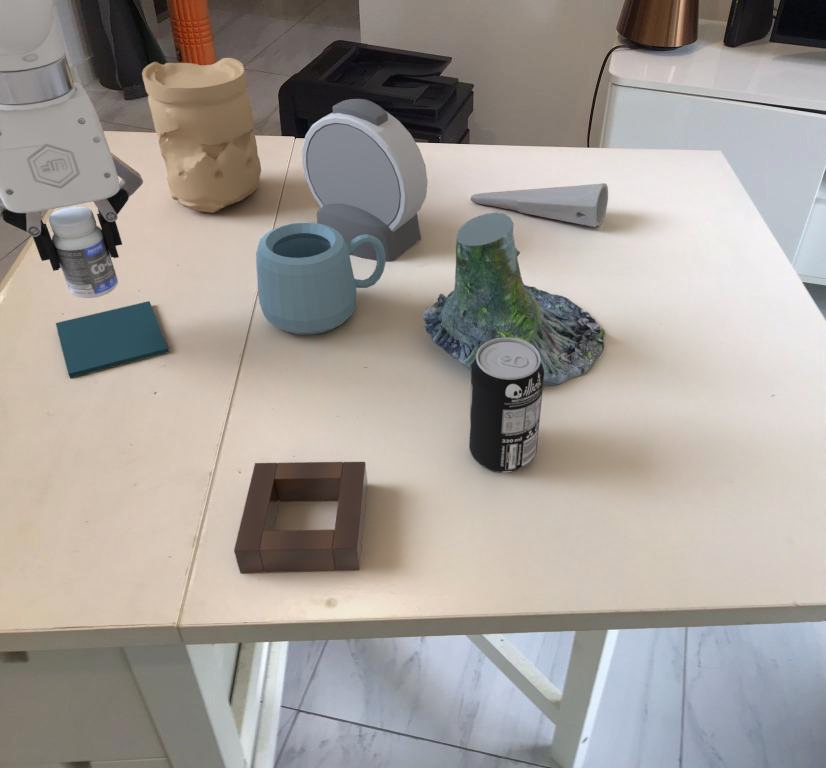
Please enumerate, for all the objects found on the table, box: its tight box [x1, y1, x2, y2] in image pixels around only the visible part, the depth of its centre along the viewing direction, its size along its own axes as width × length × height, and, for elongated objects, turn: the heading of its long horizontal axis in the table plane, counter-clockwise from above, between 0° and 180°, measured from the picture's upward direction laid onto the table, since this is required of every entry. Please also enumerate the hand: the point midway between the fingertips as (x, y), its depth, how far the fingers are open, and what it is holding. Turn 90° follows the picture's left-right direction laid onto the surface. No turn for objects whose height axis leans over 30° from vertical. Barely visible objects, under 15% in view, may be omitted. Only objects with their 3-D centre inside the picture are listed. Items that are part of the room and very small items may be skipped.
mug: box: [255, 222, 386, 336], centre depth 92 cm, size 15×11×10 cm
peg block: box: [233, 461, 368, 574], centre depth 70 cm, size 10×10×3 cm
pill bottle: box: [48, 206, 119, 299], centre depth 82 cm, size 5×5×8 cm
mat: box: [55, 300, 170, 379], centre depth 89 cm, size 10×10×1 cm
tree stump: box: [422, 212, 606, 387], centre depth 88 cm, size 18×20×18 cm
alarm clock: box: [301, 98, 429, 262], centre depth 103 cm, size 16×10×18 cm, turn 62°
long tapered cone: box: [470, 183, 609, 228], centre depth 116 cm, size 6×6×19 cm
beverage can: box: [468, 338, 544, 473], centre depth 75 cm, size 7×7×12 cm
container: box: [141, 57, 262, 214], centre depth 109 cm, size 13×13×18 cm
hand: (84, 256), depth 82 cm, fingers closed on pill bottle, 4 cm apart
